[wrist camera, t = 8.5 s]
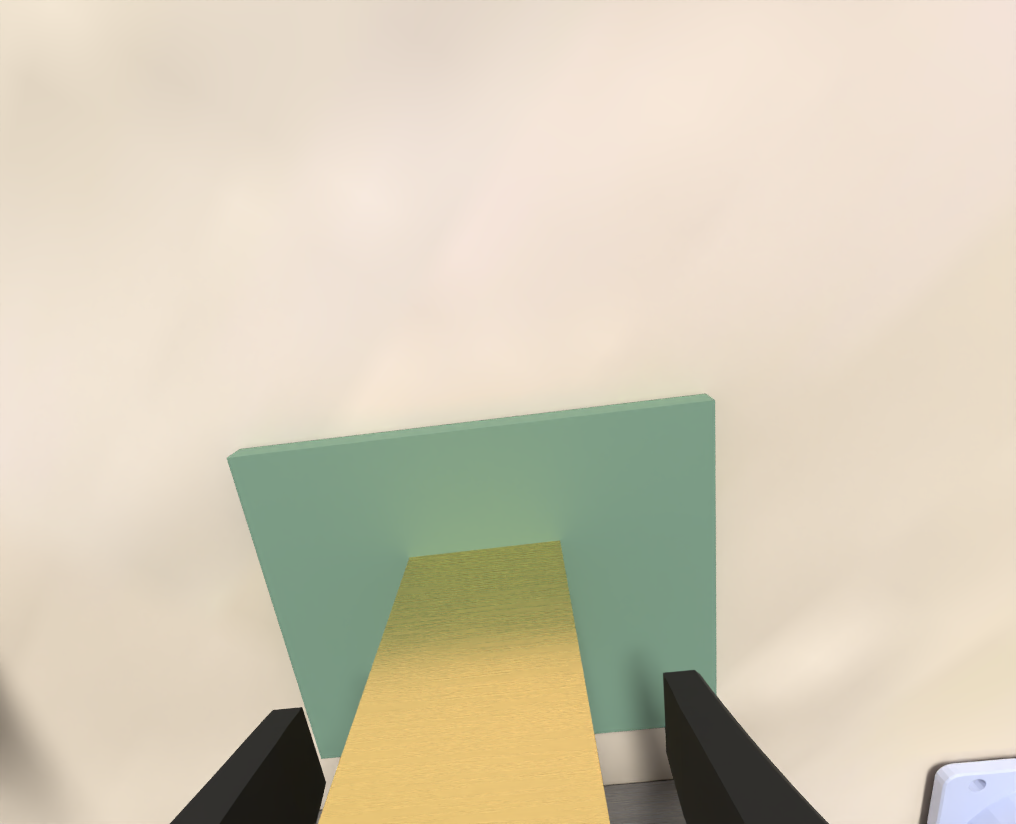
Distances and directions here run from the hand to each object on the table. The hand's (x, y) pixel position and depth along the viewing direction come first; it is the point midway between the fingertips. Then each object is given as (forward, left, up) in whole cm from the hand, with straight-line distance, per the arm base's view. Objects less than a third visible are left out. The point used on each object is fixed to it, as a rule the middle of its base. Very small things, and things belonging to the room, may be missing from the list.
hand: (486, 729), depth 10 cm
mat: (0, 0, -4) cm, 4 cm away
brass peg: (0, 0, -4) cm, 4 cm away
